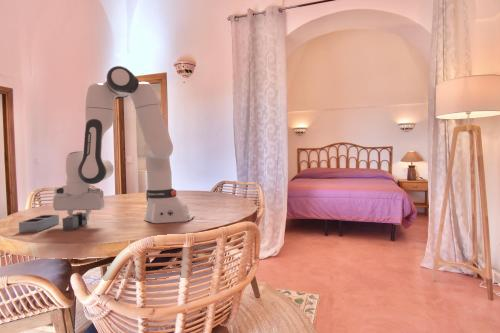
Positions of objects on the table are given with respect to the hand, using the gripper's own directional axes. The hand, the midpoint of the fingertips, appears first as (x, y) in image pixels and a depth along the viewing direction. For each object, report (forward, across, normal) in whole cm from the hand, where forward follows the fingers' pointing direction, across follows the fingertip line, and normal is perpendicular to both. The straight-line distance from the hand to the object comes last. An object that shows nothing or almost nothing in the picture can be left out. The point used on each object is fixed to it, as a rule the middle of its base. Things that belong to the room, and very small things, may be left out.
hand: (79, 220), depth 126 cm
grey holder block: (+2, +14, +4) cm, 15 cm away
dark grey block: (+2, 0, +7) cm, 7 cm away
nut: (+2, 0, 0) cm, 2 cm away
